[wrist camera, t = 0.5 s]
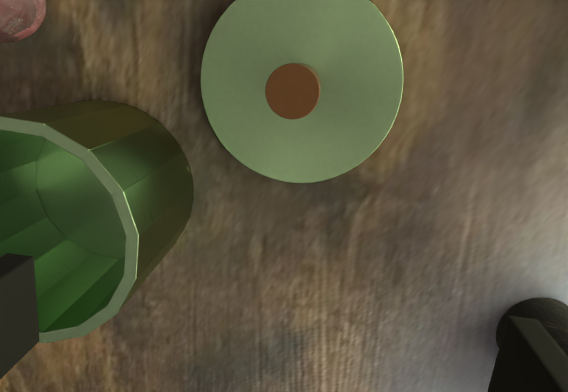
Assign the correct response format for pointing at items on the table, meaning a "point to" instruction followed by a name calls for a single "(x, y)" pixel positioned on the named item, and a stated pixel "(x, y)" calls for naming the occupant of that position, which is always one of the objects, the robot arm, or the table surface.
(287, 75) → the canister lid
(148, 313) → the table surface
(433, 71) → the table surface
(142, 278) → the canister
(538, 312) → the travel mug
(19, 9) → the vegetable
